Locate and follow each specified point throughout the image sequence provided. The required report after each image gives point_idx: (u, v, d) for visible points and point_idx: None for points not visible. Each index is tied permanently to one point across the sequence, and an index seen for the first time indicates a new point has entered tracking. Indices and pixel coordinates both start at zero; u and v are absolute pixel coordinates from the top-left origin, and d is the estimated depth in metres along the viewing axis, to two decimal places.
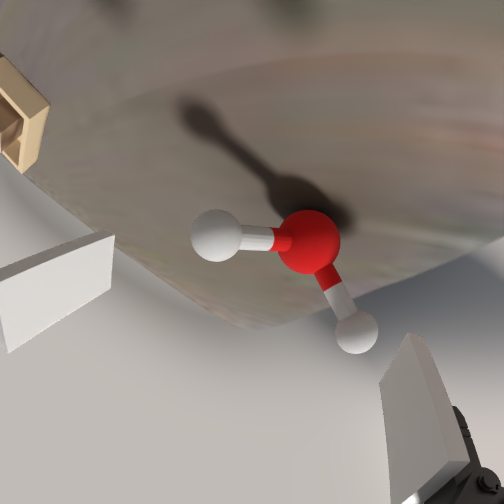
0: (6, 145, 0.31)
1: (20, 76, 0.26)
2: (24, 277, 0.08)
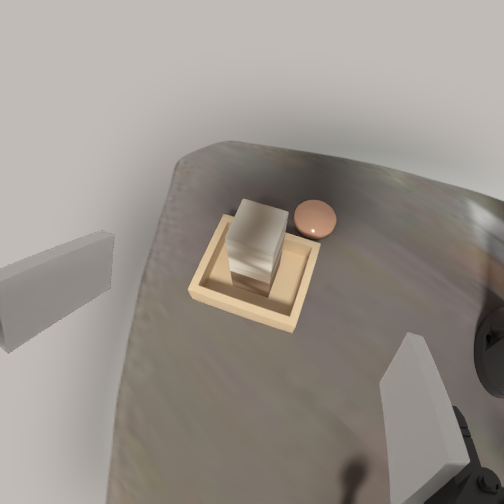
0: (235, 276, 0.39)
1: None
2: (24, 277, 0.08)
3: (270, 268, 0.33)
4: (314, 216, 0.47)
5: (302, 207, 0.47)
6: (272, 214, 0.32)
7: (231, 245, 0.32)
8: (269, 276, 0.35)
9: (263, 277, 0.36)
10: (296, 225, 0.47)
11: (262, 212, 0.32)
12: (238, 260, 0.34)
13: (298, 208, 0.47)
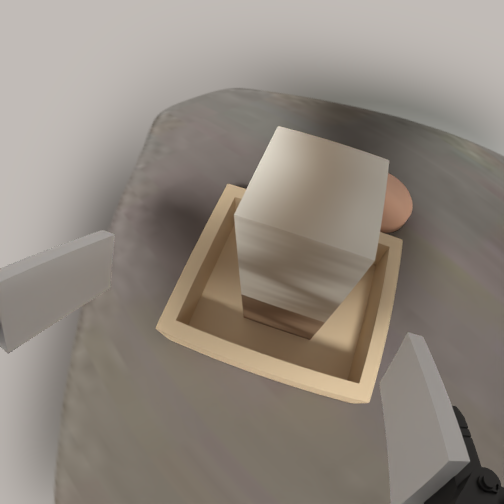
0: (251, 304, 0.19)
1: None
2: (24, 277, 0.08)
3: (343, 296, 0.13)
4: None
5: None
6: (354, 162, 0.12)
7: (250, 239, 0.12)
8: (331, 311, 0.15)
9: (315, 311, 0.16)
10: None
11: (329, 157, 0.12)
12: (263, 275, 0.14)
13: None
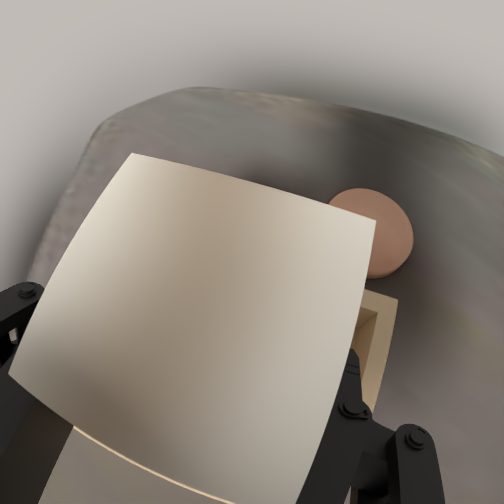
0: None
1: None
2: None
3: None
4: None
5: (340, 204, 0.20)
6: (283, 236, 0.05)
7: None
8: None
9: None
10: None
11: (220, 225, 0.05)
12: None
13: None
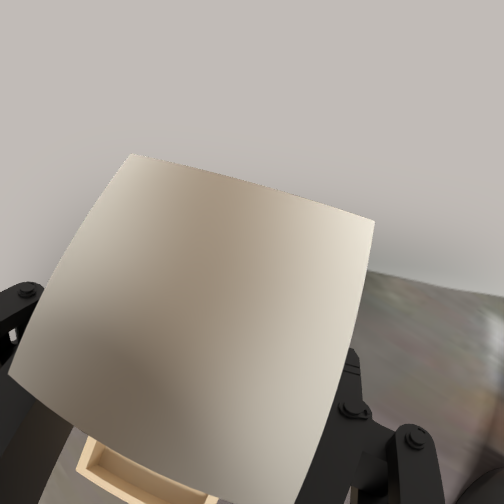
0: None
1: None
2: None
3: None
4: None
5: None
6: (282, 236, 0.05)
7: None
8: None
9: None
10: None
11: (219, 225, 0.05)
12: None
13: None
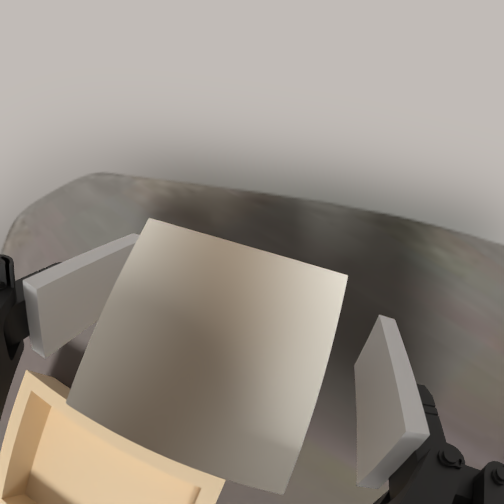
0: None
1: None
2: (64, 281, 0.09)
3: None
4: None
5: None
6: (275, 293, 0.07)
7: None
8: None
9: None
10: None
11: (227, 285, 0.07)
12: None
13: None
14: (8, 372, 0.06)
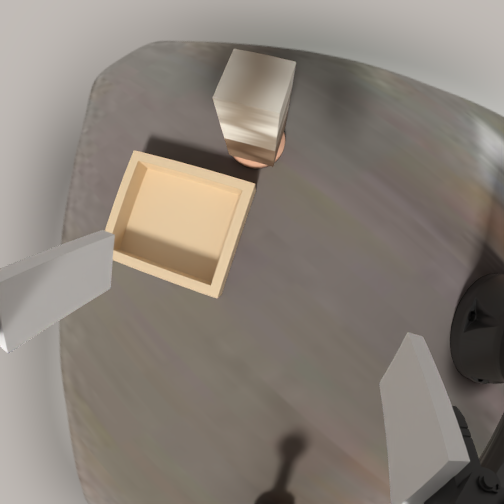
0: (231, 144, 0.30)
1: (240, 235, 0.34)
2: (24, 277, 0.08)
3: (275, 133, 0.24)
4: None
5: None
6: (274, 65, 0.21)
7: (222, 107, 0.22)
8: (274, 142, 0.26)
9: (266, 144, 0.27)
10: None
11: (260, 64, 0.21)
12: (232, 124, 0.25)
13: None
14: None
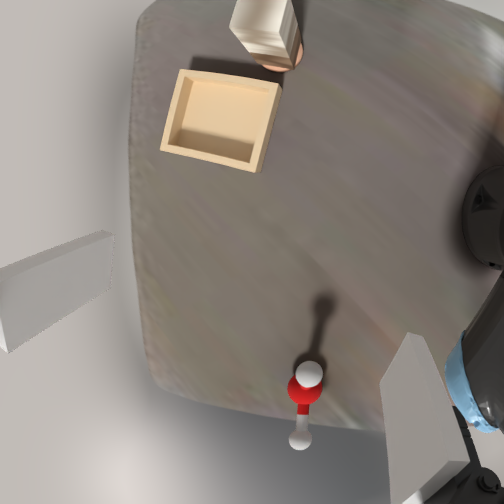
0: (255, 55, 0.33)
1: (272, 124, 0.40)
2: (24, 277, 0.08)
3: (283, 45, 0.28)
4: None
5: None
6: None
7: (238, 32, 0.26)
8: (285, 51, 0.30)
9: (280, 53, 0.30)
10: None
11: None
12: (250, 42, 0.29)
13: None
14: None
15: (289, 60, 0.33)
